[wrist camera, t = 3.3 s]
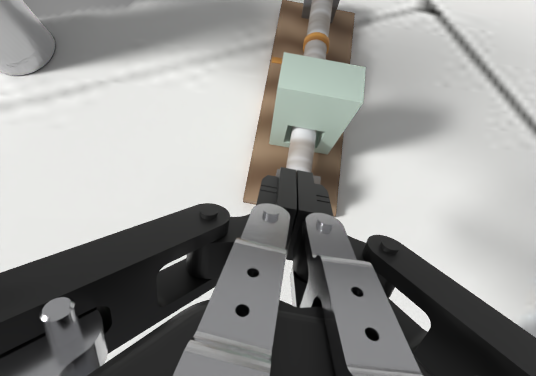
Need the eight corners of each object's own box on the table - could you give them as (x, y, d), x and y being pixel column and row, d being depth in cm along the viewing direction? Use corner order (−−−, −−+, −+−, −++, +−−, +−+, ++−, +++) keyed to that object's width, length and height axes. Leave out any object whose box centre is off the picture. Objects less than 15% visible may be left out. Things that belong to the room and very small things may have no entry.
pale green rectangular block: (327, 154, 36) (363, 102, 25) (268, 144, 36) (277, 87, 25) (330, 128, 38) (365, 67, 26) (273, 118, 37) (283, 52, 26)
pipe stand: (332, 217, 36) (351, 206, 29) (243, 202, 36) (241, 186, 29) (351, 21, 46) (369, -23, 39) (281, 8, 46) (286, -39, 39)
